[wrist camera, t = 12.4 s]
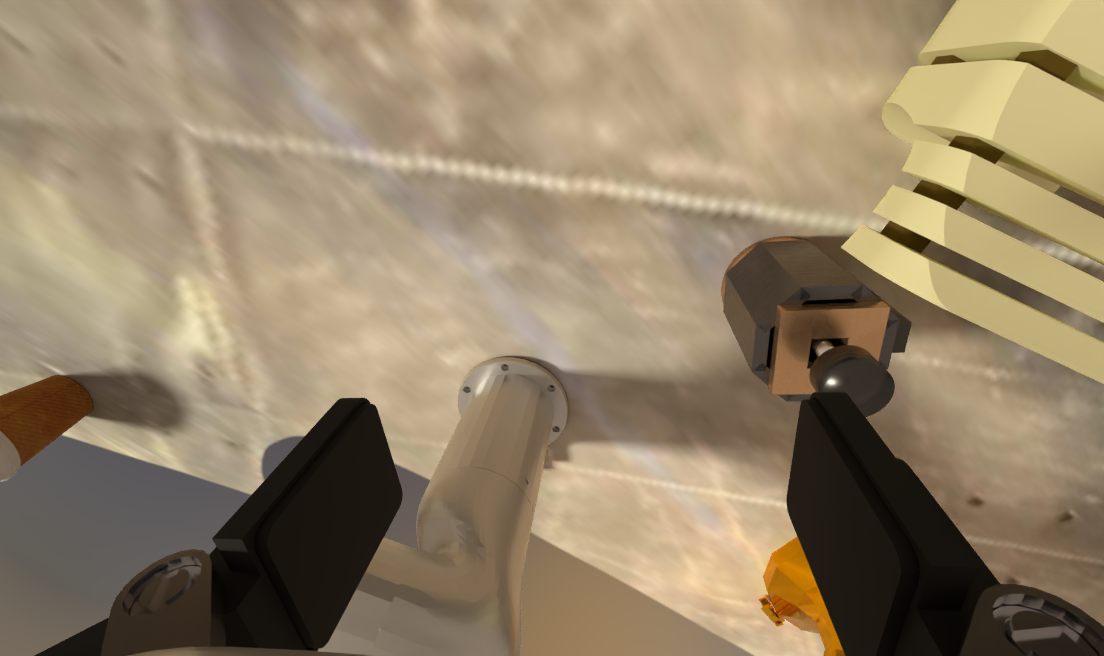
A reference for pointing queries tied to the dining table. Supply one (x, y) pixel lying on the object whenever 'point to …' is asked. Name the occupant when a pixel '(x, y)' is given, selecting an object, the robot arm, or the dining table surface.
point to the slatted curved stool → (1002, 167)
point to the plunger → (850, 373)
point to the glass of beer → (37, 419)
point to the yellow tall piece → (798, 596)
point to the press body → (802, 312)
